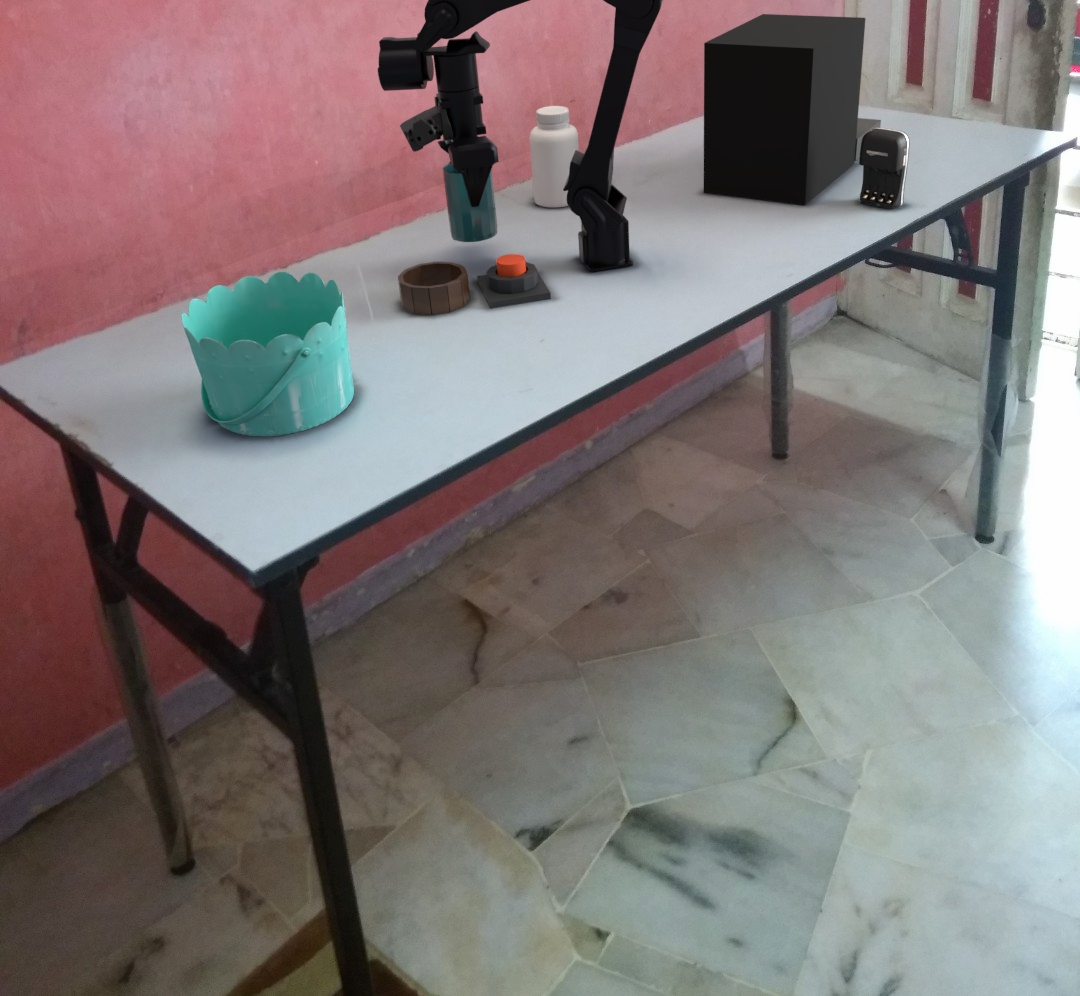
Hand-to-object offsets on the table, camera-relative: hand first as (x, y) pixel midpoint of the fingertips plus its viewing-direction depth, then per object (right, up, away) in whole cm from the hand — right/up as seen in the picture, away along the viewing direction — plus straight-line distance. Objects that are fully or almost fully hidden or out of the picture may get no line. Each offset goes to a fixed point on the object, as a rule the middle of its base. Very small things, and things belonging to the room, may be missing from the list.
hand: (470, 199), depth 165 cm
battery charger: (+63, +3, +14) cm, 65 cm away
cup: (0, -4, +3) cm, 5 cm away
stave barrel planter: (-5, -16, -5) cm, 17 cm away
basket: (-21, -32, -28) cm, 47 cm away
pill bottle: (+13, +7, +27) cm, 31 cm away
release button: (+6, -12, -5) cm, 14 cm away
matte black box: (+54, +14, +33) cm, 65 cm away
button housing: (+6, -14, -4) cm, 16 cm away
